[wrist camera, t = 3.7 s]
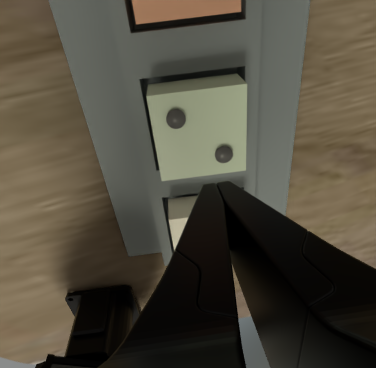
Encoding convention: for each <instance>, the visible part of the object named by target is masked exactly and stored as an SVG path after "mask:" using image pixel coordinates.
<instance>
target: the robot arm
mask: <svg viewBox="0 0 376 368" xmlns="http://www.w3.org/2000/svg"><path fill="white" fill-rule="evenodd" d="M232 265H233V268H234V270H235V273H236V276H237V278H238V281H239V284H240V287H241V289H242V292H243V295H244V297H245V300H246V303H247V306H248V308H249V311H250V314H251V316H252V319H253V322H254V324H255V327H256V330H257V333H258V335H259V338H260V341H261V343H262V346H263V349H264V351H265V354H266V357H267V360H268V362H269V365H270V368H376V269H375V268H373V267H371V266H369V265H367V264H366V263H364V262H362V261H360V260H358V259H356V258H354V257H352V256H351V255H349V254H347V253H345V252H343V251H341V250H339V249H338V248H336V247H334V246H333V245H331V244H329V243H328V242H326V241H324V240H323V239H321V238H319V237H318V236H316V235H315V234H313V233H312V232H310V231H308V232H307V229H305V228H303V227H302V226H300V225H299V224H297V223H296V222H294V221H292V220H291V219H289V218H288V217H286V216H284V215H283V214H281V213H280V212H278V211H277V210H275V209H273V208H272V207H270V206H269V205H267V204H266V203H264V202H262V201H261V200H259V199H258V198H256V197H254V196H253V195H251V194H250V193H248V192H247V191H245V190H243V189H242V188H240V187H239V186H237V185H236V184H234V183H232V182H231V181H222V182H217V184H216V183H208V184H203V185H202V187H201V189H200V192H199V194H198V196H197V199H196V201H195V203H194V206H193V208H192V210H191V213H190V215H189V218H188V220H187V222H186V225H185V227H184V229H183V232H182V234H181V236H180V239H179V241H178V243H177V246H176V248H175V251H174V252H173V255H172V257H171V259H170V262H169V264H168V266H167V268H166V270H165V272H164V274H163V276H162V278H161V280H160V282H159V283H158V285H157V287H156V289H155V290H154V292H153V294H152V295H151V297H150V299H149V300H148V302H147V303H146V305H145V307H144V308H143V310H142V312H141V313H140V312H139V309H138V306H137V303H136V300H135V297H134V294H133V291H132V288H131V287H130V286H119V287H111V288H103V289H96V290H88V291H81V292H73V293H68V294H67V295H66V298H65V300H66V302H67V304H68V306H69V307H70V309H71V311H72V313H73V315H74V316H75V319H74V323H73V326H72V330H71V334H70V338H69V341H68V345H67V349H66V352H65V356H64V357H60V356H55V355H53V354H48V356H47V359H46V361H44V362H42V363H39V364H36V367H35V368H246V364H245V359H244V354H243V349H242V344H241V337H240V329H239V322H238V312H237V304H236V296H235V287H234V279H233V270H232Z"/></svg>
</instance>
